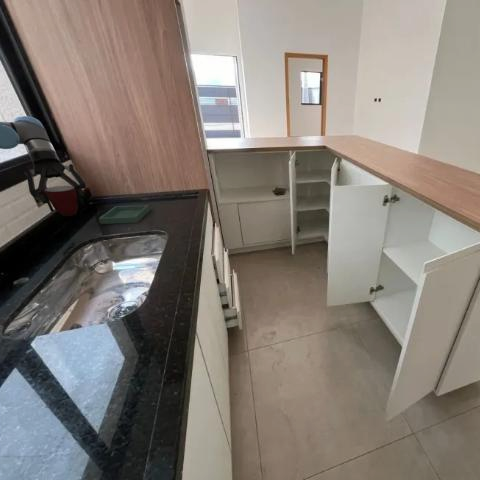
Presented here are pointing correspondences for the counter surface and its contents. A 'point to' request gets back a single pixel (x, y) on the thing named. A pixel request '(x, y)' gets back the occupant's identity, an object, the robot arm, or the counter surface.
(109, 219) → the tray
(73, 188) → the mug
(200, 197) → the counter surface
